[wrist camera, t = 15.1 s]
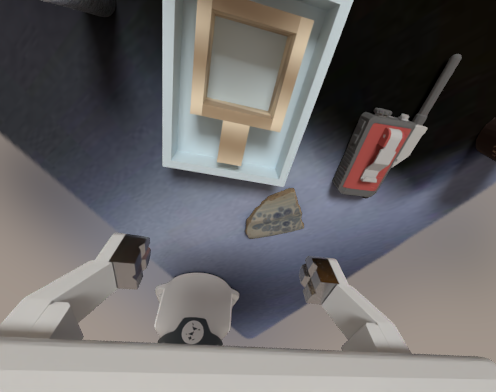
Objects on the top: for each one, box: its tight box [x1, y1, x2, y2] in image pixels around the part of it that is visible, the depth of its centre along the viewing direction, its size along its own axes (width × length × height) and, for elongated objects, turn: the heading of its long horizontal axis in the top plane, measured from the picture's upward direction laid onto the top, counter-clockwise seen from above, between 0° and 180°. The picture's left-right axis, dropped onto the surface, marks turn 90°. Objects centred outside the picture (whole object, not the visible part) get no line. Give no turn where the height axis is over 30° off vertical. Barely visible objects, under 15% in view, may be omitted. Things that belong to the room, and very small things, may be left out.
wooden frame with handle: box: [190, 0, 314, 166], centre depth 23 cm, size 15×10×4 cm, turn 168°
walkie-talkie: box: [332, 54, 461, 198], centre depth 28 cm, size 9×4×20 cm
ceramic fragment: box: [245, 188, 304, 239], centre depth 36 cm, size 11×3×10 cm
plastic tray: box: [163, 0, 353, 187], centre depth 24 cm, size 20×16×4 cm
